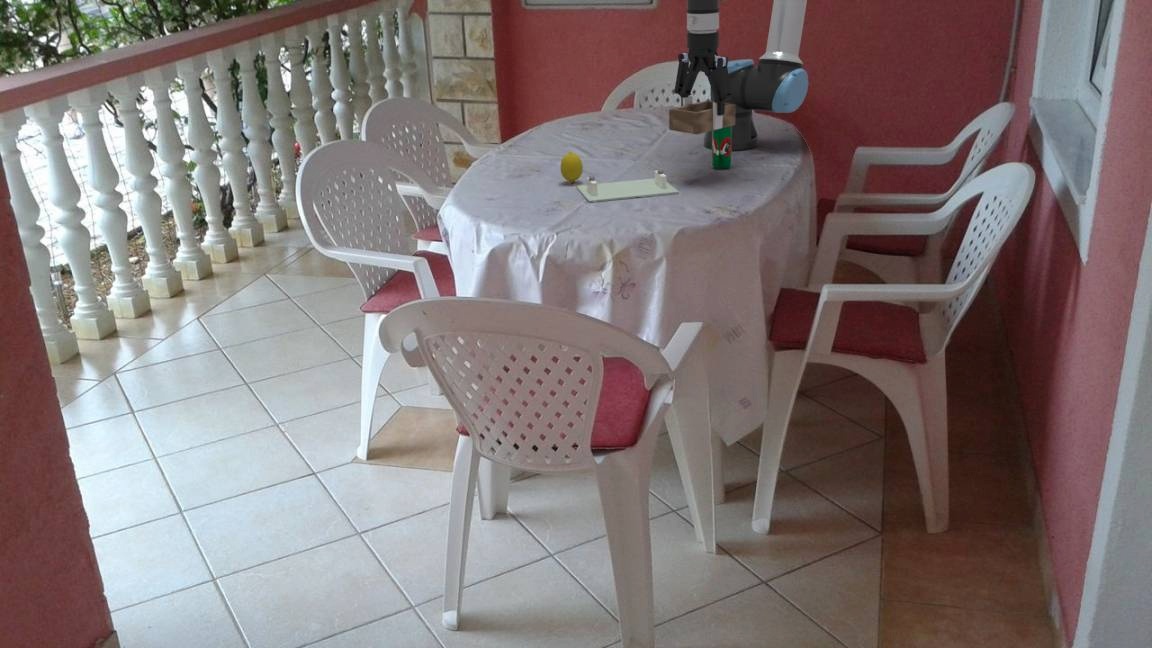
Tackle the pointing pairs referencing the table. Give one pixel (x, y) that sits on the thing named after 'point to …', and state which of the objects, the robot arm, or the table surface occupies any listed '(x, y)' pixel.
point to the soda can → (722, 148)
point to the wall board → (627, 188)
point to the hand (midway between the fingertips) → (702, 126)
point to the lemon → (571, 167)
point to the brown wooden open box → (698, 117)
